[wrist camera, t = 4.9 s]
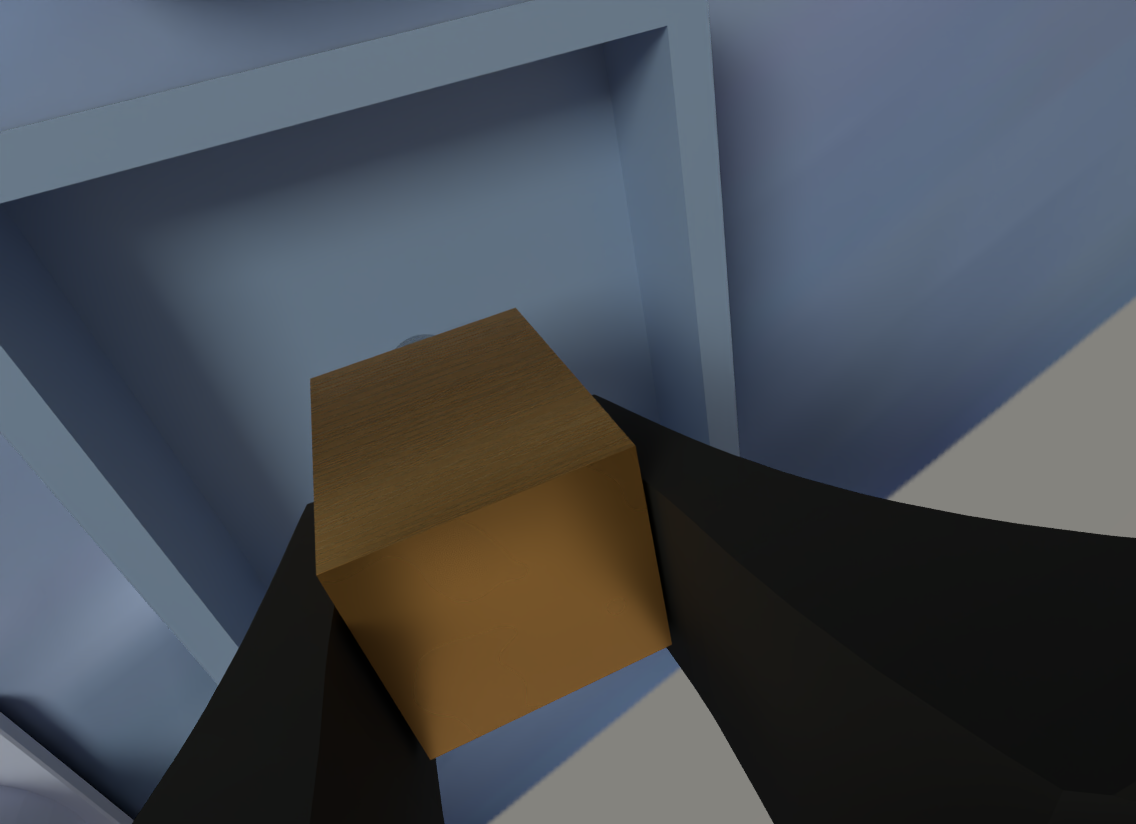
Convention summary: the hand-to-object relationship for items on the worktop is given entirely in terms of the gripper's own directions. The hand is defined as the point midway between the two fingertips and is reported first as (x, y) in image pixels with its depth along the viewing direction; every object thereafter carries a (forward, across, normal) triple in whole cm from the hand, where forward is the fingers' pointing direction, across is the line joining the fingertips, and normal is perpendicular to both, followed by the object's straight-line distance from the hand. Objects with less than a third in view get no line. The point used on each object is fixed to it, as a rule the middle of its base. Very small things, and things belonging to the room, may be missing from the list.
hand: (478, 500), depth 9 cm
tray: (+5, 0, 0) cm, 5 cm away
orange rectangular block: (+4, 0, -1) cm, 4 cm away
